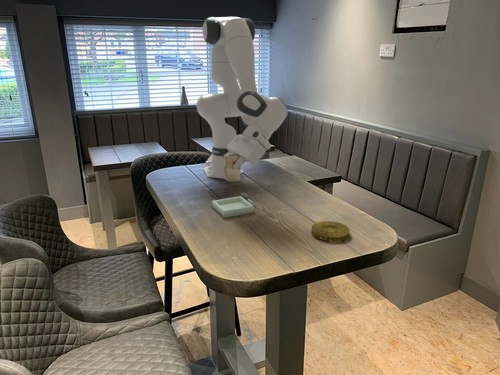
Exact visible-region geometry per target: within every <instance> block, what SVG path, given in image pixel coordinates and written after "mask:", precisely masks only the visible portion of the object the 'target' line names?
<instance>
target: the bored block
mask: <svg viewBox="0 0 500 375" xmlns="http://www.w3.org/2000/svg"><path fill="white" fill-rule="evenodd" d="M239 158H240V156H239V155H237V154H226V155H224V178H223V179H224V180H226V181H227V182H229V183H231V182H237V181H238V182H239V181H241V174H240V166H239V167H238V169H235V168H233V167H232V165H233V164H234V162H235V163H236V162H237V161H238V160H239Z"/></svg>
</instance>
